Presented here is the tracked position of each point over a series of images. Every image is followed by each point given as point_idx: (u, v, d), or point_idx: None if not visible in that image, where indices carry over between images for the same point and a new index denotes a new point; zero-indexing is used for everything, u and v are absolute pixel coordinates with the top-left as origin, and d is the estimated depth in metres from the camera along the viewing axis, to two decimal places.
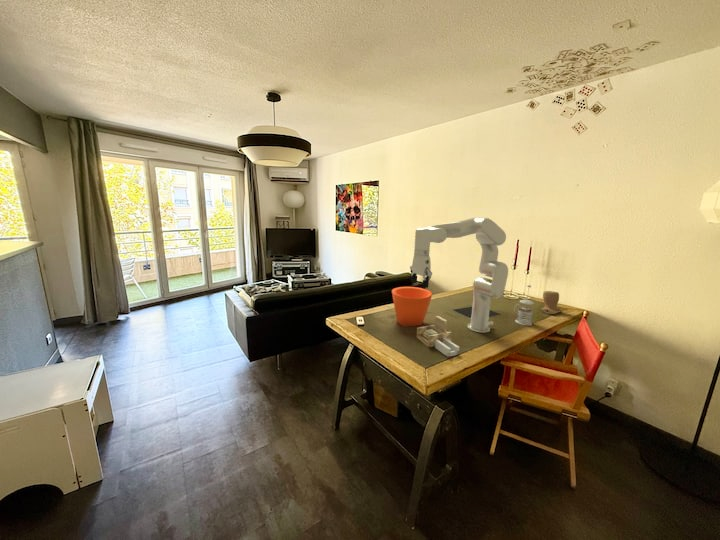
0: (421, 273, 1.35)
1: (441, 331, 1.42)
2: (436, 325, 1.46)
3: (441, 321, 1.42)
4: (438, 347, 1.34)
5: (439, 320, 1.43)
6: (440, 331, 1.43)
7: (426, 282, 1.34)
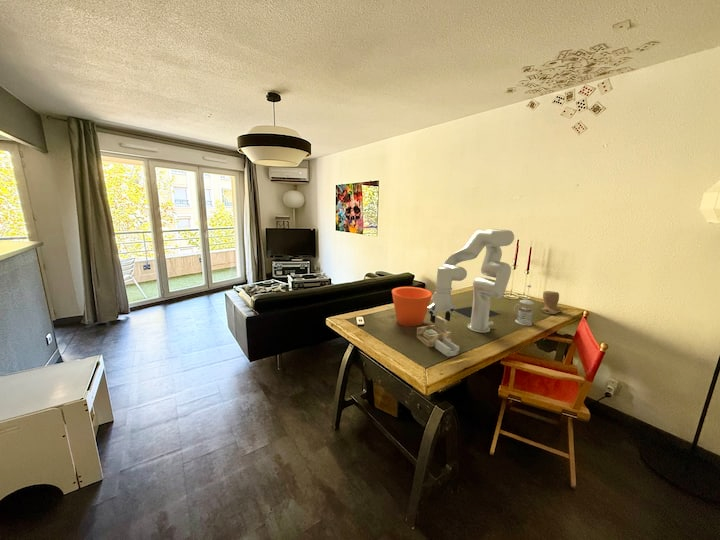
0: (449, 308, 1.42)
1: (441, 331, 1.42)
2: (436, 325, 1.46)
3: (441, 321, 1.42)
4: (438, 347, 1.34)
5: (439, 320, 1.43)
6: (440, 331, 1.43)
7: None
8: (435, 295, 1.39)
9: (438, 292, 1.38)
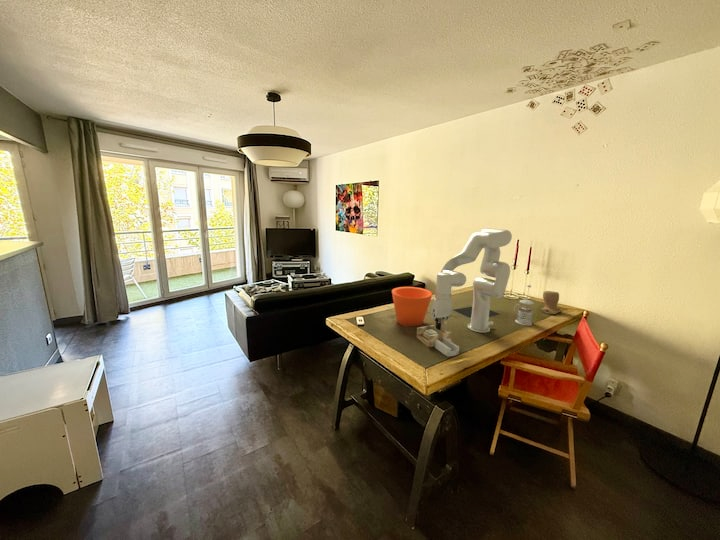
0: (449, 314, 1.43)
1: (441, 331, 1.42)
2: None
3: (441, 321, 1.42)
4: (438, 347, 1.34)
5: None
6: (440, 331, 1.43)
7: None
8: (435, 301, 1.40)
9: (438, 298, 1.39)
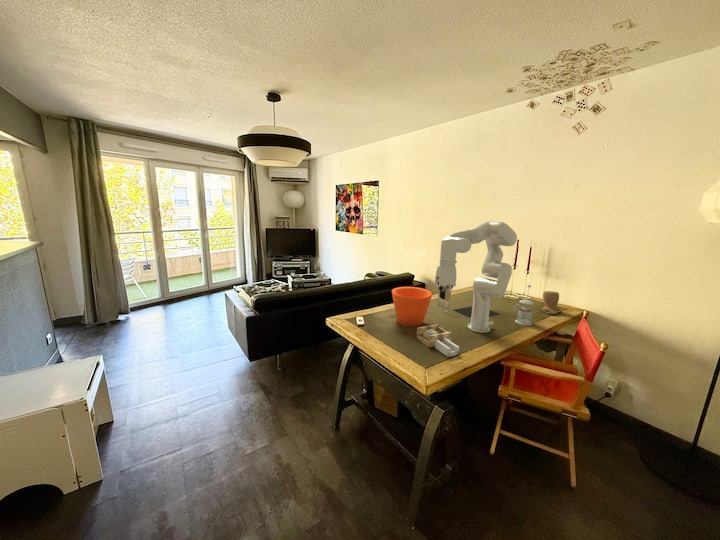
0: (454, 282, 1.36)
1: (445, 300, 1.36)
2: None
3: (445, 289, 1.35)
4: (438, 347, 1.34)
5: None
6: (444, 300, 1.37)
7: None
8: (439, 268, 1.34)
9: (442, 265, 1.33)
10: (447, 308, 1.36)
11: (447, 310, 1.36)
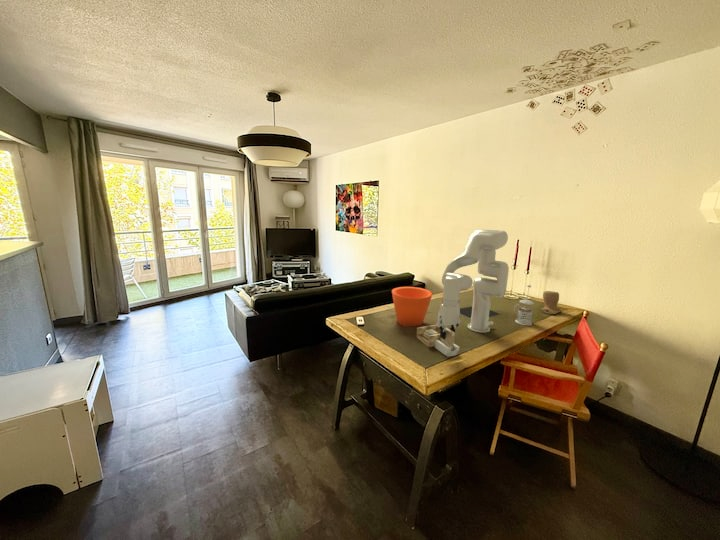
0: (457, 322, 1.30)
1: (448, 344, 1.31)
2: None
3: (448, 333, 1.30)
4: (438, 347, 1.34)
5: (446, 332, 1.32)
6: (447, 344, 1.31)
7: None
8: (442, 308, 1.28)
9: (445, 304, 1.27)
10: None
11: None
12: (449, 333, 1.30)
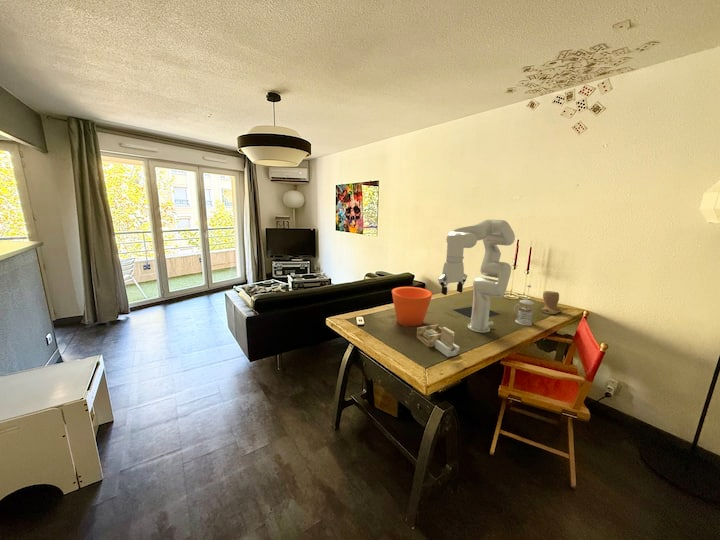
0: (461, 279, 1.32)
1: (448, 344, 1.31)
2: (443, 337, 1.34)
3: (448, 333, 1.30)
4: (438, 347, 1.34)
5: (446, 332, 1.31)
6: (447, 344, 1.31)
7: None
8: (446, 265, 1.29)
9: (449, 261, 1.28)
10: None
11: None
12: (449, 333, 1.30)
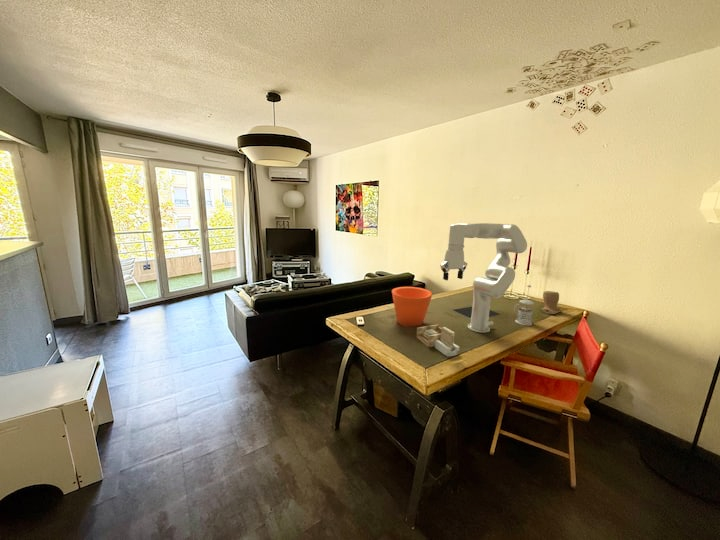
0: (462, 266, 1.43)
1: (448, 344, 1.31)
2: (443, 337, 1.34)
3: (448, 333, 1.30)
4: (438, 347, 1.34)
5: (446, 332, 1.31)
6: (447, 344, 1.31)
7: None
8: (448, 252, 1.41)
9: (451, 249, 1.40)
10: None
11: None
12: (449, 333, 1.30)
